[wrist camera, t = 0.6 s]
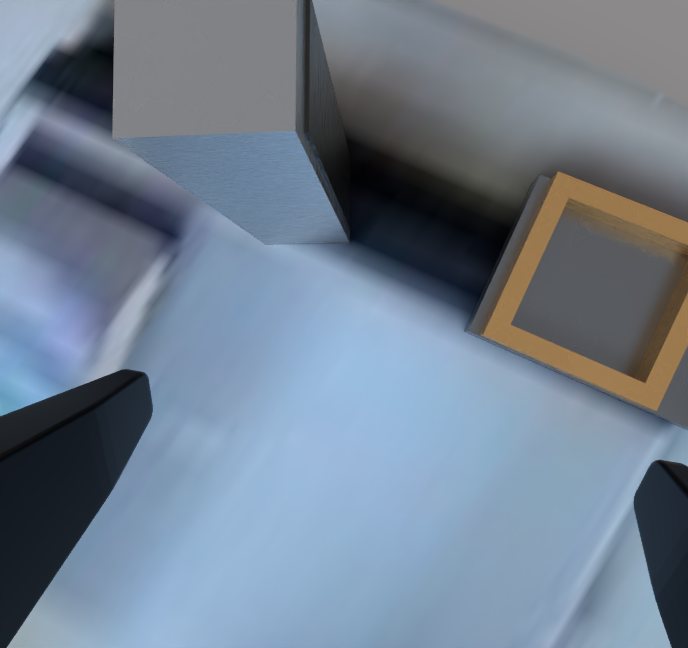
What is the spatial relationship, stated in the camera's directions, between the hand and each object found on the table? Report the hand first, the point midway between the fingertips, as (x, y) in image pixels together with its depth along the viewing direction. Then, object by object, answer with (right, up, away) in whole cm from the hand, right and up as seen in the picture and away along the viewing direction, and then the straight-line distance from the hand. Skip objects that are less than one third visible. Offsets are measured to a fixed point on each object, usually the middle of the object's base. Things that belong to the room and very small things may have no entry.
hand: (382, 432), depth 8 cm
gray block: (-2, +8, +13) cm, 16 cm away
